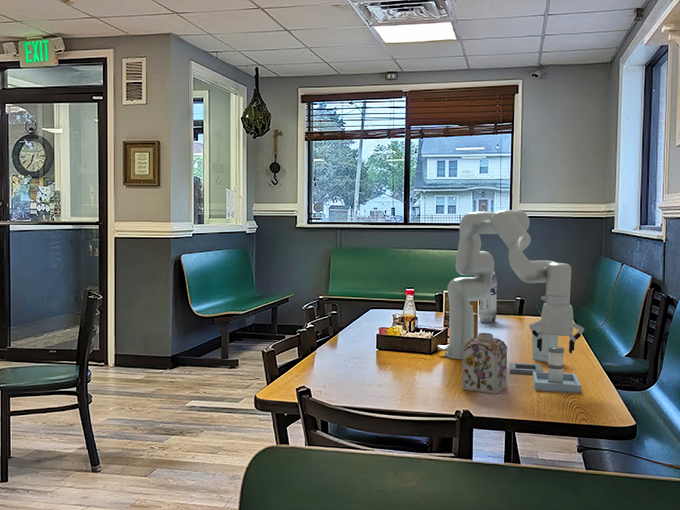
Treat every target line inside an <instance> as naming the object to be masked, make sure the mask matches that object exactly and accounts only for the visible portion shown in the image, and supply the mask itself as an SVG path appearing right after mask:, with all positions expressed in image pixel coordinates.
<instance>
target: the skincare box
mask: <svg viewBox="0 0 680 510" xmlns="http://www.w3.org/2000/svg"><path fill="white" fill-rule="evenodd" d="M534 329H535V331H536V332H537V333H539V332H540V331H541V329H540V325H539V326H536V327H535V328H534ZM531 333H532V332H531ZM531 336H532V338H531V342H532V346H531V347H532V348H531V349H532V350H531V351H532V360H533V361H539V362H544V363H548V364H549V347H559V336H558V335H546V334H544V335H543V336H542V337H541V338H542V351H539V348H537V338H536V337H535V335H534V334H533V333H532V334H531Z"/></svg>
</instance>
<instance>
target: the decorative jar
mask: <svg viewBox="0 0 680 510" xmlns="http://www.w3.org/2000/svg"><path fill="white" fill-rule="evenodd" d="M477 335H478V336H477V337H473V338H471V339H468V340H467V342H466V344H465V346H464V348H463V359H462V372H461V373H462V374H461V389H462V390H463V391H469V392H476V393H482V394H490V395H497V394H498V393H500V392H501V391H503V390H504V389H505V388H507V386H508V385H507V383H508V382H507V381H508V380H507V379H508V346H507V344H506V343H505V341H504V340H502V339H500V338H496V337H494V336H493V335H494V334H493V333H489V332H478V334H477Z"/></svg>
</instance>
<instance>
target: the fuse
mask: <svg viewBox="0 0 680 510" xmlns="http://www.w3.org/2000/svg"><path fill="white" fill-rule="evenodd" d="M564 352H565V348H564V347H563V346H558V347H549V363H548V365H547V366H548V371H547V372H548V383H561V384H563V373H564Z"/></svg>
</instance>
